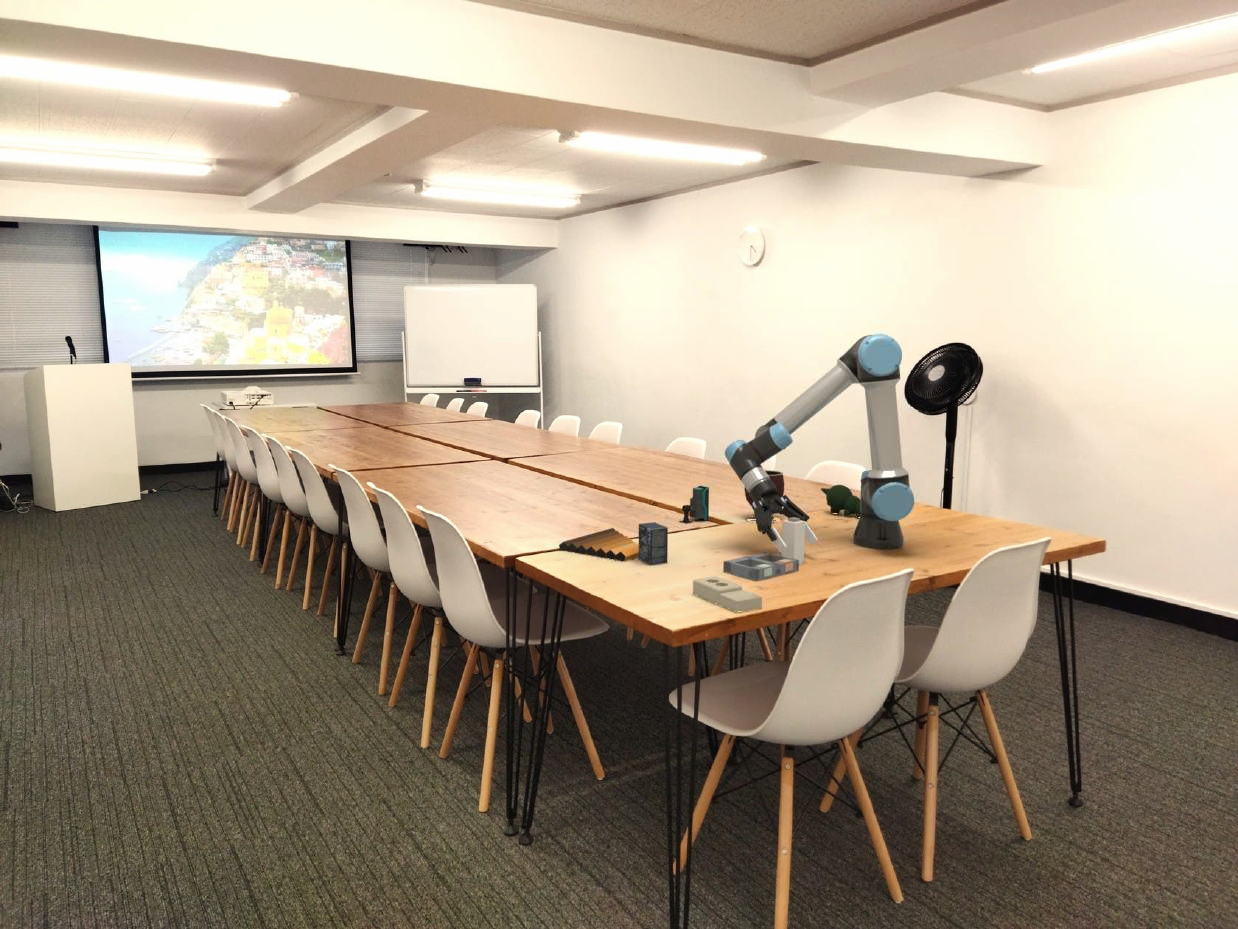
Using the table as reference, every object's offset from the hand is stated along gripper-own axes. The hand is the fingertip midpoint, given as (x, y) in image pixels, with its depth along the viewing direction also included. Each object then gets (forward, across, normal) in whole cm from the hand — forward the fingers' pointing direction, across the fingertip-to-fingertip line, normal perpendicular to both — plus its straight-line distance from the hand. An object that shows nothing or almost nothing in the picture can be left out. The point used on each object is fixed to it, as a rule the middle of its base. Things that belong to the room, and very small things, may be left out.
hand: (799, 545), depth 241 cm
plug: (+2, 0, -5) cm, 6 cm away
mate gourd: (-31, -40, -39) cm, 64 cm away
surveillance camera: (-41, -20, -49) cm, 67 cm away
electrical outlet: (+13, +42, +5) cm, 44 cm away
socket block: (+3, +14, -4) cm, 15 cm away
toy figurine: (-20, -71, -27) cm, 79 cm away
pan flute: (-30, +27, -38) cm, 55 cm away
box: (-16, +30, -24) cm, 42 cm away
